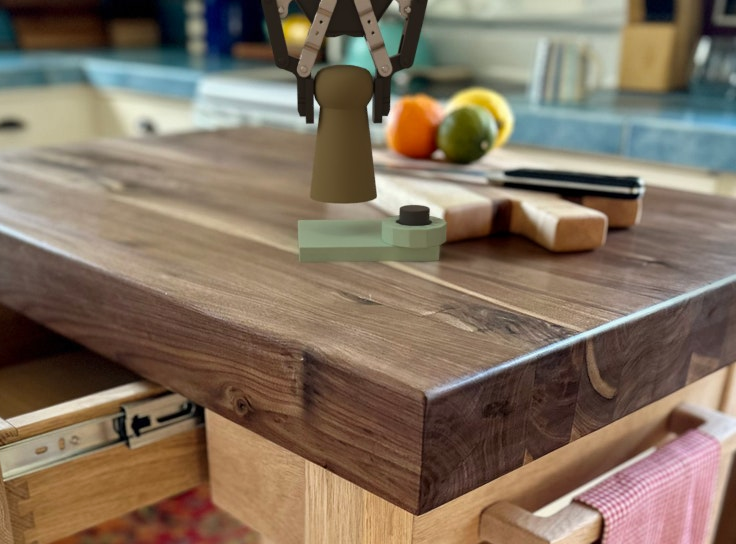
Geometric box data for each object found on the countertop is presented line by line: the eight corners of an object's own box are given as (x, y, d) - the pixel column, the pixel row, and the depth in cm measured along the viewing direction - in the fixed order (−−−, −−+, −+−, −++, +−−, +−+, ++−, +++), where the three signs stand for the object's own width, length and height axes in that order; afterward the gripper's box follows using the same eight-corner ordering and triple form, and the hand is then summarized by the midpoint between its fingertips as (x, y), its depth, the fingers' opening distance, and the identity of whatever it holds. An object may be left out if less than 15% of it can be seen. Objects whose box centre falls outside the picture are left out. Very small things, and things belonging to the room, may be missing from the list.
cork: (296, 195, 78) (293, 65, 74) (347, 187, 82) (347, 62, 77) (339, 206, 74) (339, 69, 70) (391, 197, 78) (394, 65, 73)
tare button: (426, 222, 77) (427, 204, 76) (431, 229, 74) (432, 211, 74) (397, 222, 77) (397, 204, 76) (400, 229, 74) (401, 211, 74)
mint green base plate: (430, 232, 84) (431, 201, 83) (449, 263, 74) (451, 228, 73) (298, 234, 83) (297, 203, 82) (299, 265, 74) (299, 230, 72)
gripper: (250, -109, 65) (259, 129, 72) (442, -108, 65) (432, 127, 72) (253, -98, 71) (261, 118, 78) (427, -98, 72) (420, 116, 79)
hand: (343, 121), depth 75 cm, fingers closed on cork, 5 cm apart
